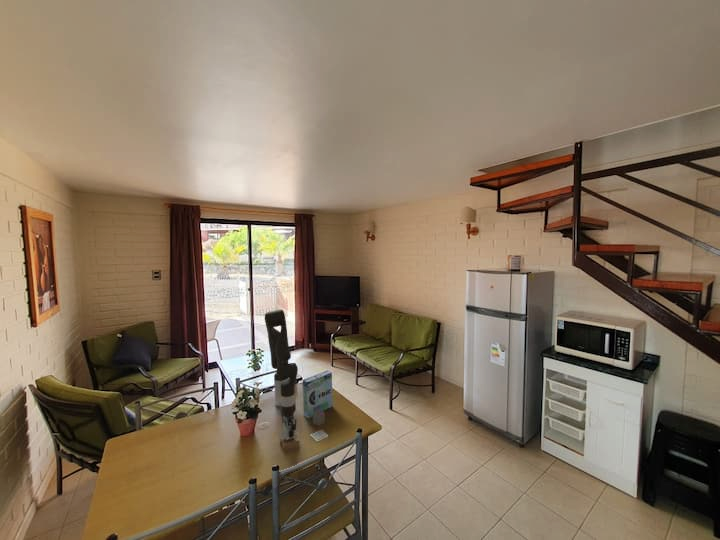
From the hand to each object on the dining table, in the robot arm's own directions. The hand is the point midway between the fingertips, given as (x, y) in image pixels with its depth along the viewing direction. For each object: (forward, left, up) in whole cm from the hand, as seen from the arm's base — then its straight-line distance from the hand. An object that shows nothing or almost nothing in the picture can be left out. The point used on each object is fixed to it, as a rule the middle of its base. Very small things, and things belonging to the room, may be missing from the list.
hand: (289, 433), depth 148 cm
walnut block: (0, 0, -7) cm, 7 cm away
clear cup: (0, 0, -1) cm, 1 cm away
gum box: (-19, +28, -6) cm, 34 cm away
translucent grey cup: (-8, +22, -6) cm, 24 cm away
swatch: (+3, +16, -6) cm, 17 cm away
